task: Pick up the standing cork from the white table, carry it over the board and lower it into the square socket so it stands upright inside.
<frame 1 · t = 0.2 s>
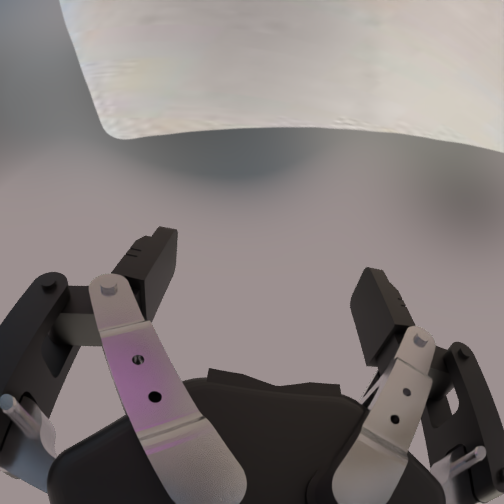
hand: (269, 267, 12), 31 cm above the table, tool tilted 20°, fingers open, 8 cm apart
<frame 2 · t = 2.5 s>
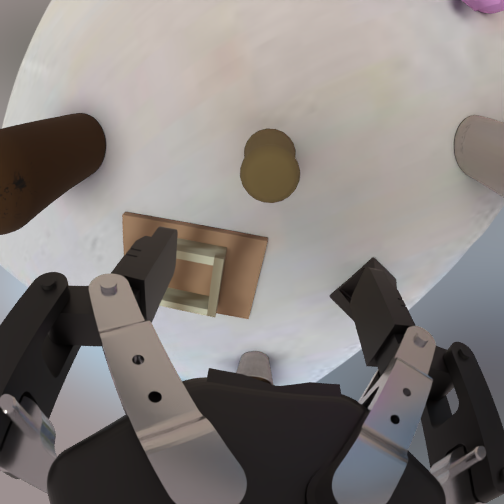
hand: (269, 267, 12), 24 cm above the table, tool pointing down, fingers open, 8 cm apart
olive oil: (79, 145, 33), on the table
phone stand: (362, 285, 42), on the table
cork: (269, 153, 33), on the table
socket board: (189, 267, 41), on the table
house plant: (248, 360, 52), on the table
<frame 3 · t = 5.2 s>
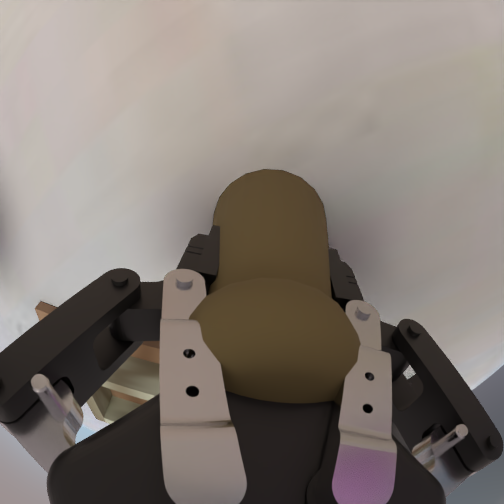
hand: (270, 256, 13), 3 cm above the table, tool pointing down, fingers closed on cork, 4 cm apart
phone stand: (400, 396, 25), on the table
cork: (269, 222, 16), on the table, touching gripper
socket board: (144, 379, 24), on the table
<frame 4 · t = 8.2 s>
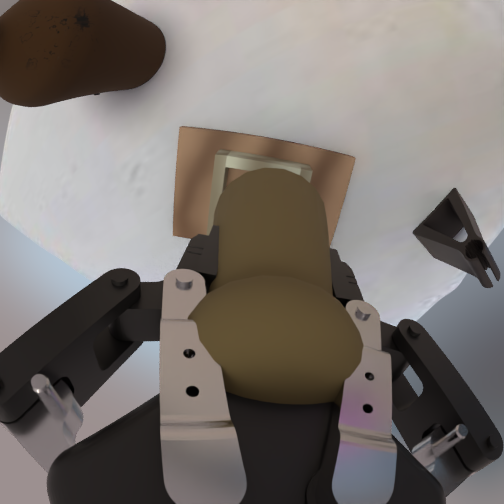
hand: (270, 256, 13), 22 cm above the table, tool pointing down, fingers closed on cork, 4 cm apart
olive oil: (130, 54, 26), on the table
phone stand: (443, 222, 34), on the table
cork: (270, 221, 16), point 19 cm above the table, touching gripper
socket board: (258, 194, 34), on the table
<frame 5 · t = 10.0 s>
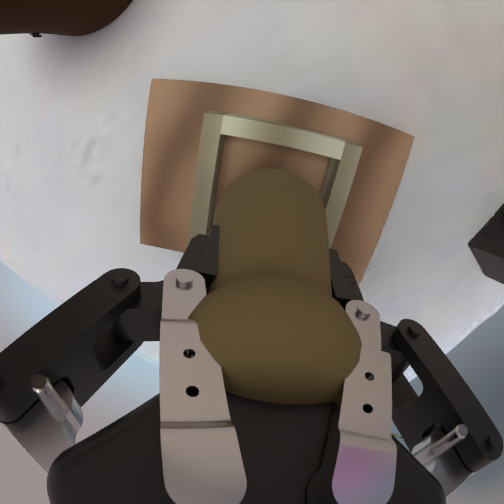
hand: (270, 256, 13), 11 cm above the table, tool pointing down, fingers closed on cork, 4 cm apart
phone stand: (500, 231, 23), on the table
cork: (270, 221, 16), point 8 cm above the table, touching gripper
socket board: (269, 183, 22), on the table
when the fingers open (6 cm above the table, at t = 11.5 s): cork drops 1 cm, resting on socket board.
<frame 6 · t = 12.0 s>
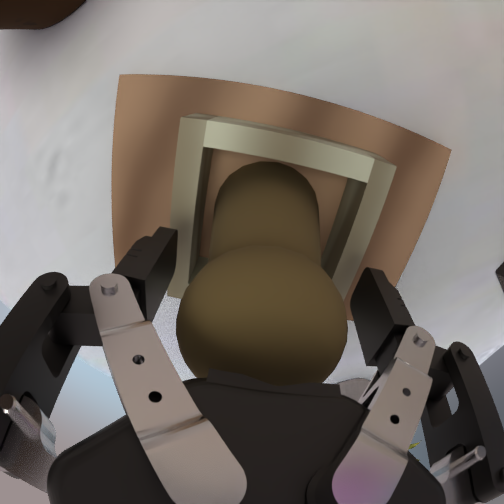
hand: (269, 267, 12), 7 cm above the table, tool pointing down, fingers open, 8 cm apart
cork: (266, 210, 17), point 1 cm above the table, touching socket board
socket board: (270, 207, 18), on the table
house plant: (337, 393, 28), on the table
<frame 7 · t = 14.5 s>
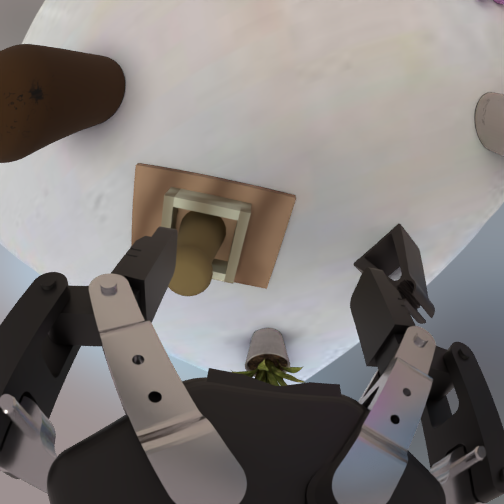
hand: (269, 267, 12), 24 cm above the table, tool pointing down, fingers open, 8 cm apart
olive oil: (94, 90, 28), on the table
phone stand: (386, 254, 39), on the table
cork: (203, 229, 37), point 1 cm above the table, touching socket board
socket board: (205, 227, 38), on the table
house plant: (259, 339, 49), on the table
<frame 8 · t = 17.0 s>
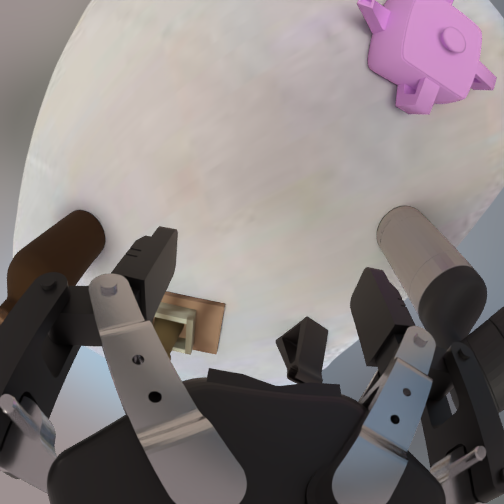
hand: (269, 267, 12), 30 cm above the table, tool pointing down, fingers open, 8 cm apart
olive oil: (85, 232, 47), on the table
teakettle: (407, 45, 28), on the table
phone stand: (301, 334, 56), on the table
cork: (169, 321, 55), point 1 cm above the table, touching socket board
socket board: (171, 319, 55), on the table
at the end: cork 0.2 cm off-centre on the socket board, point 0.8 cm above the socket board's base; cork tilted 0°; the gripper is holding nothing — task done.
